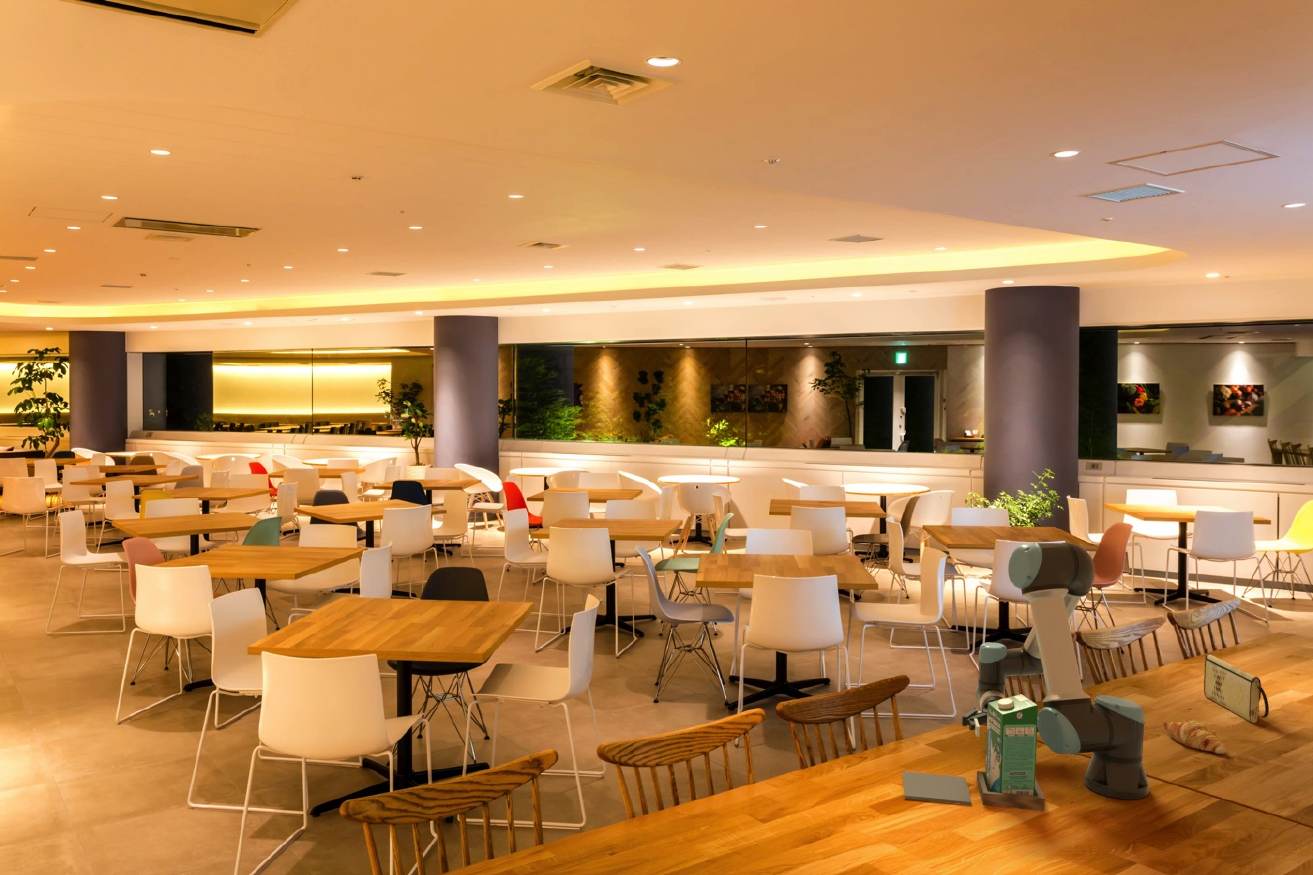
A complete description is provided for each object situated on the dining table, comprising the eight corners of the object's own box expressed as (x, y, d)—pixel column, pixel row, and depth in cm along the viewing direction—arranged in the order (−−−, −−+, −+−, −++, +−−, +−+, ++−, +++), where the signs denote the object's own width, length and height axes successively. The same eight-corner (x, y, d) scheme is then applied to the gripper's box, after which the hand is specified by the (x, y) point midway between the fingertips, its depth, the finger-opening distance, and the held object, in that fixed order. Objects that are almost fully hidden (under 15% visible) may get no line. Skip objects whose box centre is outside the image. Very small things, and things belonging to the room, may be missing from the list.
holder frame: (1034, 787, 256) (1034, 776, 256) (1044, 810, 242) (1044, 798, 242) (976, 782, 259) (976, 770, 259) (982, 804, 245) (983, 793, 245)
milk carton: (984, 789, 255) (987, 693, 253) (1018, 788, 255) (1021, 693, 254) (999, 804, 246) (1003, 705, 244) (1034, 803, 246) (1038, 704, 245)
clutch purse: (1275, 726, 306) (1277, 678, 305) (1252, 725, 306) (1254, 678, 305) (1219, 695, 336) (1221, 652, 335) (1199, 695, 335) (1201, 651, 335)
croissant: (1232, 767, 281) (1243, 741, 282) (1210, 755, 277) (1221, 729, 278) (1169, 740, 301) (1180, 716, 301) (1148, 728, 297) (1159, 704, 298)
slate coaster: (965, 779, 260) (965, 776, 260) (971, 805, 245) (971, 801, 245) (902, 774, 264) (902, 771, 264) (904, 798, 248) (905, 795, 248)
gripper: (1041, 725, 276) (1055, 752, 256) (948, 717, 282) (955, 743, 261) (1042, 698, 276) (1056, 724, 255) (949, 691, 281) (956, 715, 261)
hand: (1005, 734), depth 258 cm, fingers open, 13 cm apart
